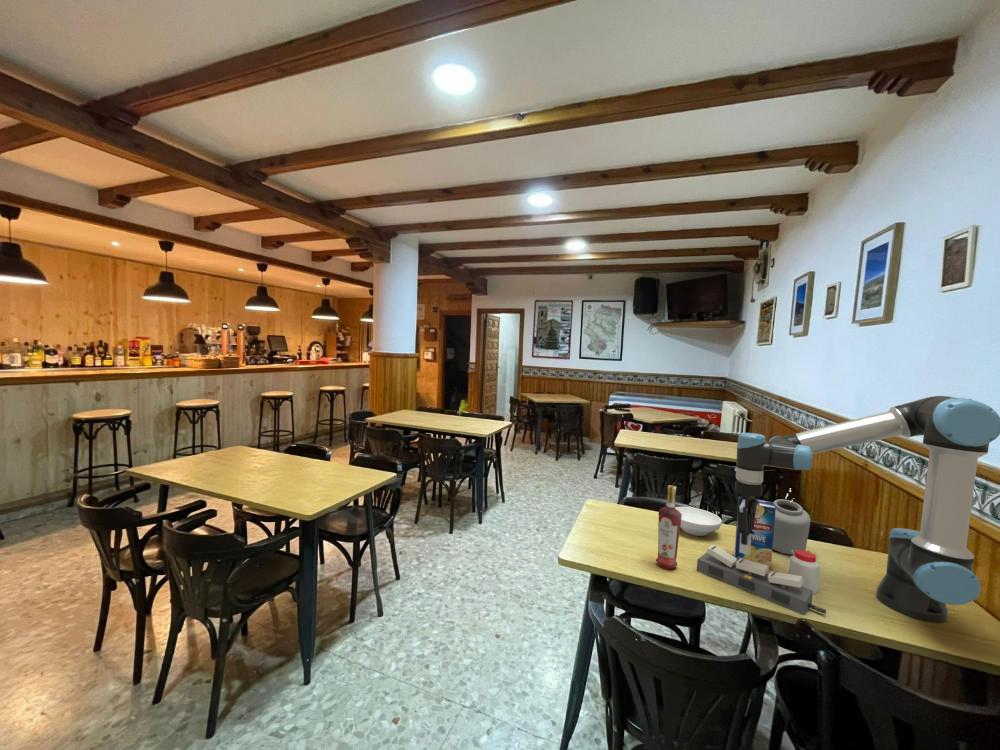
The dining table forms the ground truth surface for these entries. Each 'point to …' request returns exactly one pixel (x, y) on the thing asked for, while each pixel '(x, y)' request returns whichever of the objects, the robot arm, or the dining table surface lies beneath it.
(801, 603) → the rocker switch panel
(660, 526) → the liquor
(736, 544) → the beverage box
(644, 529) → the dining table surface
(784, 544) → the jar
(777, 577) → the block
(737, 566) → the rocker
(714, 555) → the rocker
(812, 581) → the pill bottle
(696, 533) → the bowl
